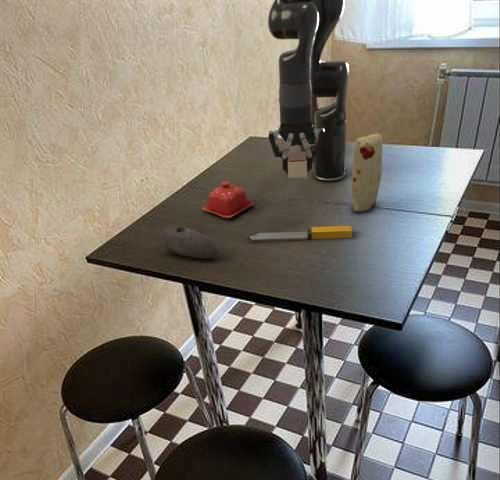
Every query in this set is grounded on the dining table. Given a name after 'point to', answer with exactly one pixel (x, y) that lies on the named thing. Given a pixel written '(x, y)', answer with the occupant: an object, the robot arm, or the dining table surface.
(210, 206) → the butter dish
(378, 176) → the food model
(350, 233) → the knife
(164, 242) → the perforated stone tool
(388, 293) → the dining table surface
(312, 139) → the beer bottle
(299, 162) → the salt cellar
